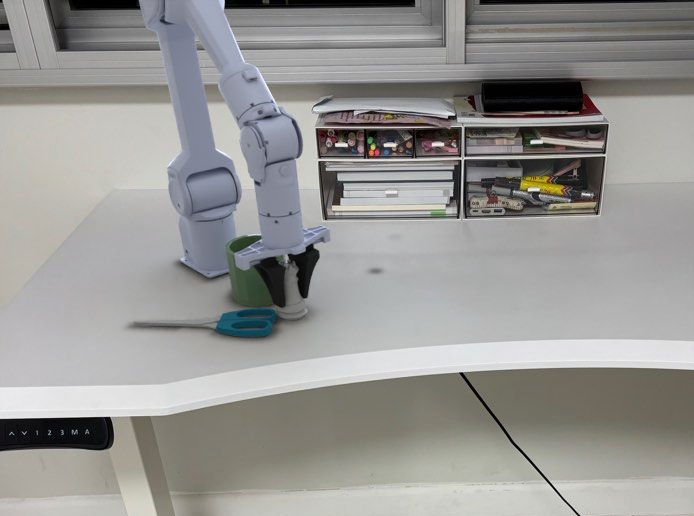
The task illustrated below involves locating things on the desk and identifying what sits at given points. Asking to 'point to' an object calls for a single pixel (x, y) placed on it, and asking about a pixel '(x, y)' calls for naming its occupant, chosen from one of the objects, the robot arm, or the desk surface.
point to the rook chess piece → (292, 294)
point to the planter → (247, 275)
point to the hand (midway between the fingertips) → (290, 300)
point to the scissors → (229, 322)
